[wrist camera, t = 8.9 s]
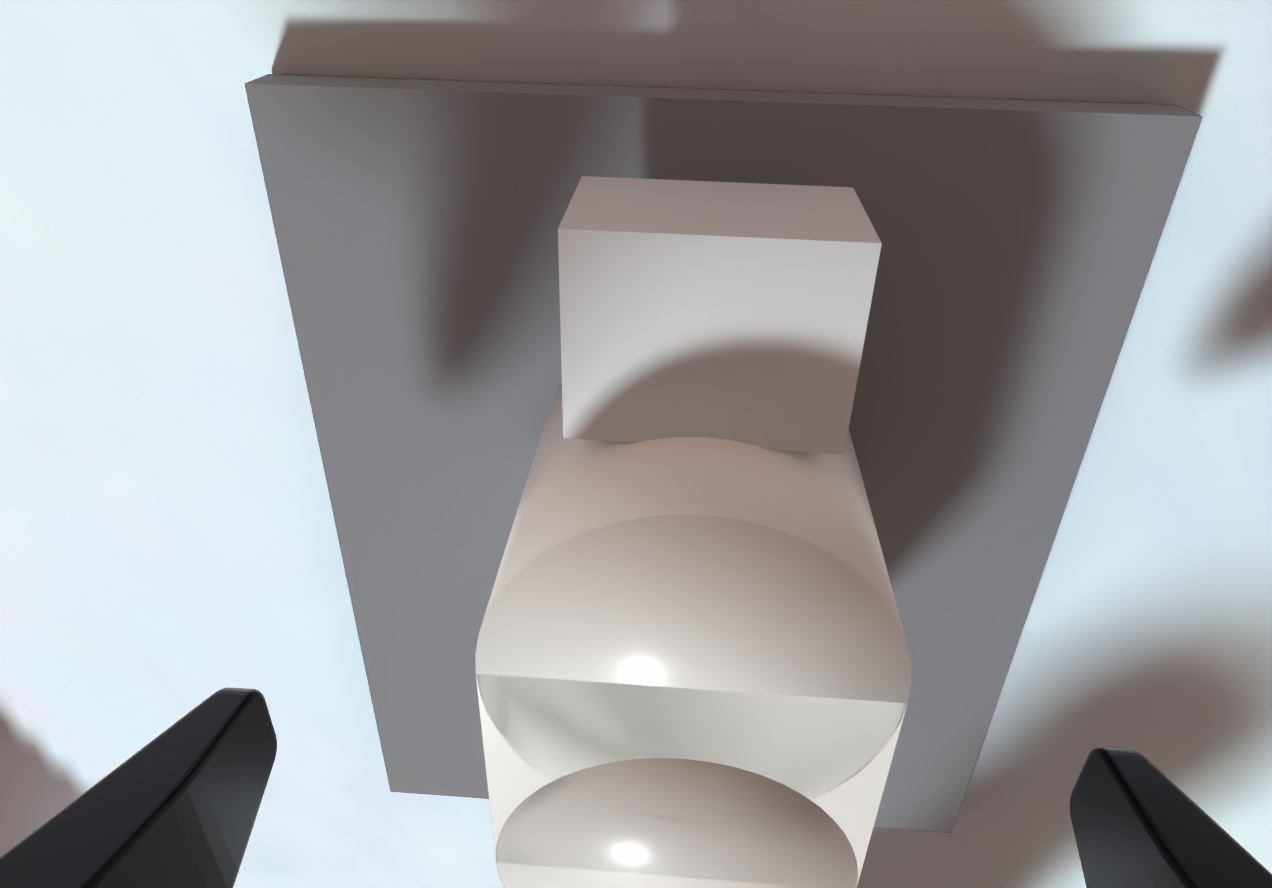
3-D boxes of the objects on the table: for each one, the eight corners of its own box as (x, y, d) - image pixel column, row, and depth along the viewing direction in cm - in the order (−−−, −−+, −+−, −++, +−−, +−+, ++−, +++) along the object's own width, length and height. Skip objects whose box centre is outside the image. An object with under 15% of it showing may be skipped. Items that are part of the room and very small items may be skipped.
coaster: (1175, 105, 9) (1202, 117, 9) (943, 802, 16) (951, 833, 15) (268, 73, 10) (244, 83, 9) (400, 763, 16) (390, 791, 16)
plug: (800, 722, 14) (829, 984, 11) (554, 704, 14) (505, 957, 11) (904, 158, 9) (1016, 307, 6) (531, 143, 9) (433, 279, 6)
